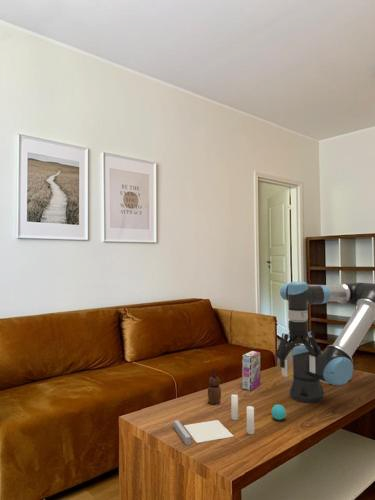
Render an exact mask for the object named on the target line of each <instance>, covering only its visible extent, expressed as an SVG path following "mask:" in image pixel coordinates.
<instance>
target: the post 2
mask: <svg viewBox="0 0 375 500" xmlns="http://www.w3.org/2000/svg"><path fill="white" fill-rule="evenodd" d="M246 434H248V435H254V434H255V407H254V406H252V405H248V406H246Z"/></svg>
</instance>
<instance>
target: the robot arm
mask: <svg viewBox="0 0 375 500" xmlns="http://www.w3.org/2000/svg"><path fill="white" fill-rule="evenodd" d="M279 294H280V296H281V298H282V299H283V300H285V301H287V305H288V307H287V309H288V311H287V313H288V315H287V316H288V317H287V319H288V333H285V332H284V333H283V332H282V333H281V339H280V343H279V345H278V347H277V350H276V353H275V358H277V359H279V366H280V368H281V376H283V377H285V378H287V377H288V359H286V358H287V357H288V355H289V354H290V353H291V350H292V381H291V384H290V387H289V392H288V394H289V397H290V398H291V399H292V400H295V401H297V402H301V403H308V404H317V403H318V404H319V403H321V402H323V401H324V400H325V392H324V389H323V385H322V383H321V382H320V380H323V381H326V382H328V383H330V384H335V385H336V386H342V385H346V384H347V383H349V382H350V381H351V379H352V377H353V374H354V372H353V371H354V363H353V361H354V360H353V358H352V357H353V355H354V354H355V352H356V350H357V349H358V348H359V345H360V344H361V341H363V339H364V337H365V335H366V334H367V332H368V331H369V329H370V328H371V326H372V324H373V323H374V321H375V283H369V282H349V283H338V284H336V285H334V284H333V285H329V284H328V285H326V284H308V283H307V281H290V282H289V283H285V284H283V285H281V287H280V289H279ZM328 302H337V303H339V304H345V305H350V306H355V307H356V308H355V310H354V312H353V313H352V314H351V316H350V318H349V319H348V321H347V322H346V324H345V326H344V327H343V329H342V330H341V331H340V333H339V334H338V336H337V338H336V339H335V341H334V343H332V344H329V345H327V346H326V347H325V349H324V350H323V351H322V350H321V349H320V346H319V345H318V343H317V340H316V338H315V337H316V336H315V332H314V331H311V330H309V322H308V319H309V314H308V313H309V311H308V310H309V308H308V307H309V305H323V304H326V303H328ZM307 338H308V339H309V340H308V339H307ZM349 380H350V381H349ZM348 381H349V382H348Z"/></svg>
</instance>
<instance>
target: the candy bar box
mask: <svg viewBox="0 0 375 500" xmlns="http://www.w3.org/2000/svg"><path fill="white" fill-rule="evenodd" d="M241 359H242V361H241V365H242V366H241V367H242V368H241V389H242V390H245V391H249V392H250V391H253V390H254V389H256V388H257V387H259V386H260V385H261V352H259V351H254V350H251V351H249V352H247V353H245V354H242V357H241Z"/></svg>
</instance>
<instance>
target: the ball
mask: <svg viewBox="0 0 375 500" xmlns="http://www.w3.org/2000/svg"><path fill="white" fill-rule="evenodd" d="M271 415H272V417H273V418H275V420H278V421H281V420H283V419H284V418H286V415H287V411H286V408H285V407H284V406H283V405H282V404H275V405H273V407H272V409H271Z"/></svg>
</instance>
